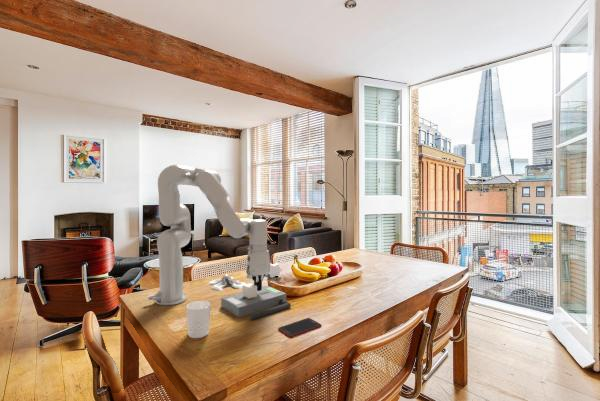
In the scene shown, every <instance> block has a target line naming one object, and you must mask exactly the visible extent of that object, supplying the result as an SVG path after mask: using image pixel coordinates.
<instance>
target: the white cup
mask: <svg viewBox="0 0 600 401" xmlns="http://www.w3.org/2000/svg"><path fill="white" fill-rule="evenodd" d="M211 307H212V306H211V302H210V301H207V300H197V301H196V300H195V301H192V302H189V303H188V304H186V307H185V308H186V325H187V335H188V337H189V338H191V339H201V338H203V337H206V336H207V335H209V333H210V325H211V324H210V323H211V321H210V320H211Z"/></svg>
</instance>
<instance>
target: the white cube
mask: <svg viewBox="0 0 600 401" xmlns="http://www.w3.org/2000/svg"><path fill="white" fill-rule="evenodd" d="M242 292H243V296H245V297H247V298H249V299H250V298H253V297H257V286H256V285H254V283H251V282H250V283H246V284H245V285H243V288H242Z"/></svg>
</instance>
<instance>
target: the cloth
mask: <svg viewBox="0 0 600 401" xmlns="http://www.w3.org/2000/svg"><path fill="white" fill-rule="evenodd" d="M207 284H208V285H211V284H212V285H211V287H210V289H211V290H215V291H223V290H224V289H225V288H227V287H231V288H234V289H237V290H243V285H245V284H247V283H246V282H241V281H240V280H238V279H237V280H234V277H232V276H229V274H228V273H225V274H224V275H223V276H222V278H221V279H220V278H219V279H214V280H211V281H209V282H208V283H207Z"/></svg>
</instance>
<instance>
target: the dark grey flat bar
mask: <svg viewBox="0 0 600 401" xmlns="http://www.w3.org/2000/svg"><path fill="white" fill-rule="evenodd" d="M279 303H280V304H279V305H276V306H273V307H270V308H267V309H264V310H261V311H258V312H255V313H251V314H249V320H252V321H253V320H256V319H260V318H264V317H265V316H268V315H272V314H275V313H277V312H281V311H283V310H286V309H288V308H291V307H292V305H291V303H290V302H288V301H287V300H286V301H284V300H280V302H279Z"/></svg>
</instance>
